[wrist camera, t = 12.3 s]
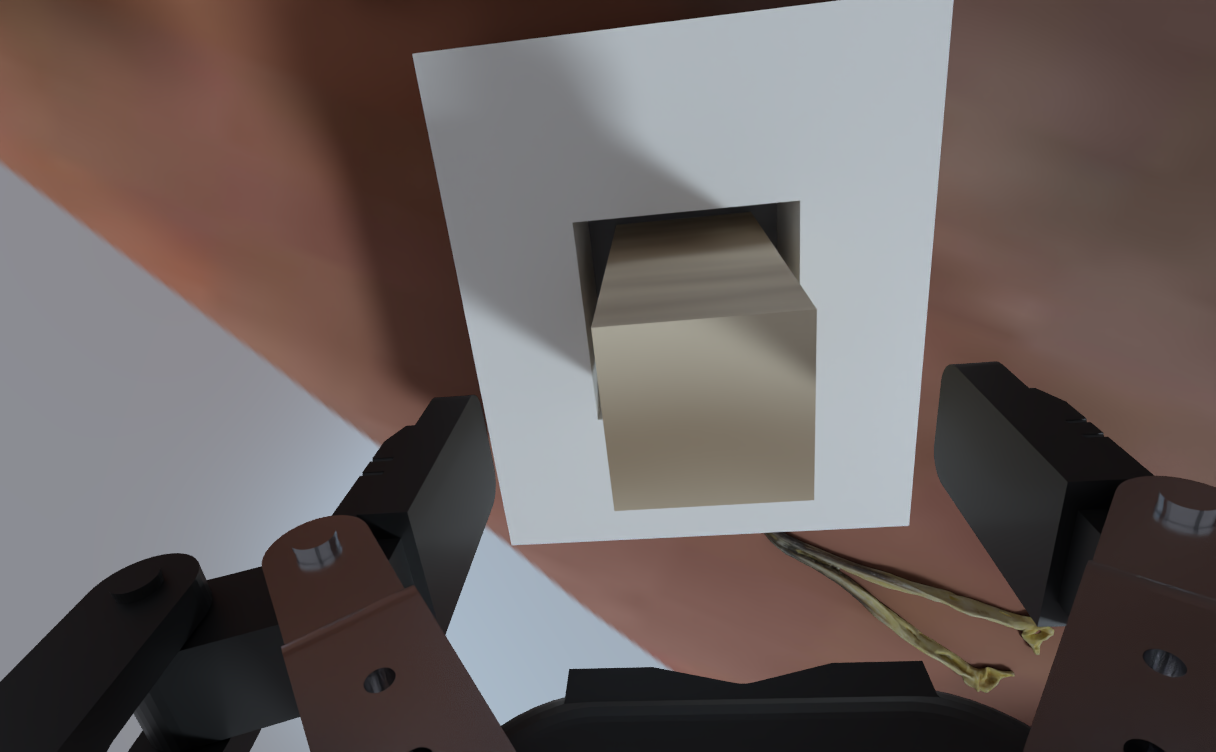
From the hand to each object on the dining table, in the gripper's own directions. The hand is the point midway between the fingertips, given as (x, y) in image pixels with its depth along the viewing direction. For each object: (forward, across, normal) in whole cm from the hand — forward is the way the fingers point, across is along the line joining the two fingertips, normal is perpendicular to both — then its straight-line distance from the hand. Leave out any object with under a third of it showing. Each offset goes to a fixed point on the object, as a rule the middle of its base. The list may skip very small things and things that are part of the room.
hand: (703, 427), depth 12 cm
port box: (+11, 0, 0) cm, 11 cm away
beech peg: (+10, 0, 0) cm, 10 cm away
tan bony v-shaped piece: (+12, -8, +15) cm, 21 cm away
